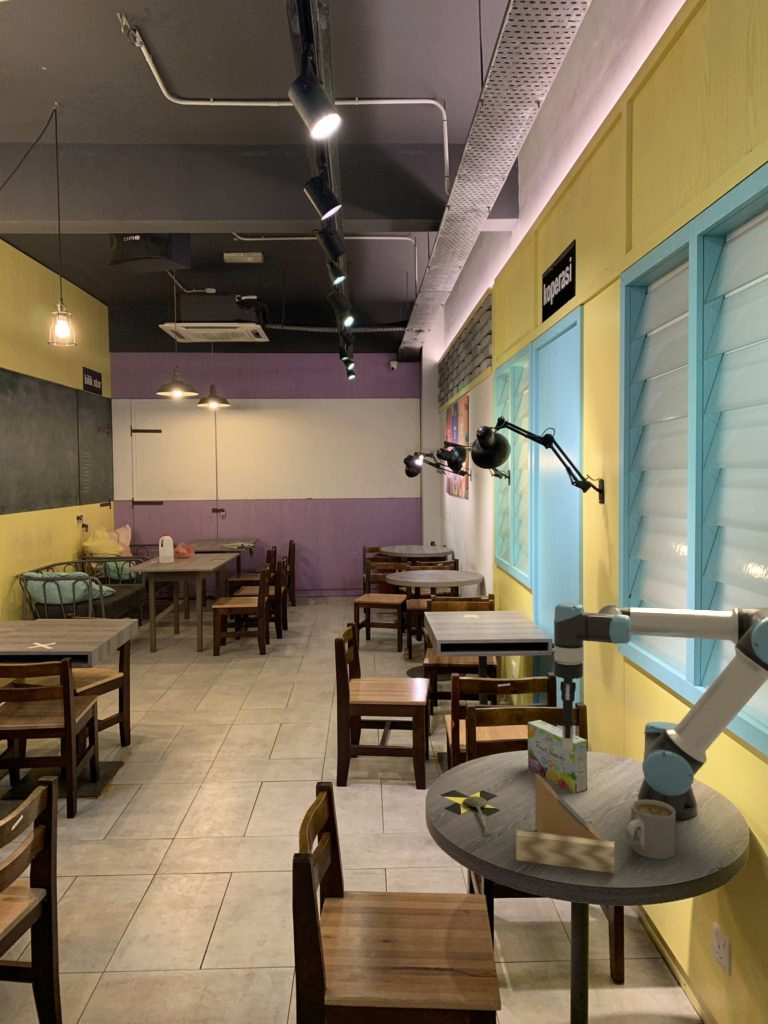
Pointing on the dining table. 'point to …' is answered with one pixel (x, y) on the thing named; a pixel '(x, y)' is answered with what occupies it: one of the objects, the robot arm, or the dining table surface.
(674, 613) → the robot arm
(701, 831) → the dining table surface
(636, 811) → the coffee mug
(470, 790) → the dining table surface
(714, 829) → the dining table surface
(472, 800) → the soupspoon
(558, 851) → the birch board
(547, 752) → the snack box
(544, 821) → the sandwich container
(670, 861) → the dining table surface
